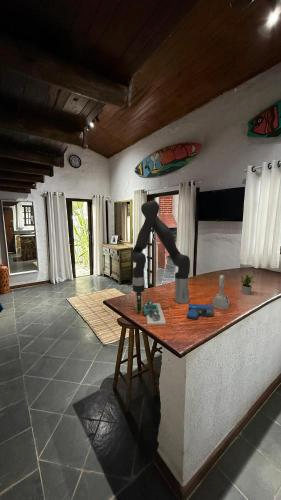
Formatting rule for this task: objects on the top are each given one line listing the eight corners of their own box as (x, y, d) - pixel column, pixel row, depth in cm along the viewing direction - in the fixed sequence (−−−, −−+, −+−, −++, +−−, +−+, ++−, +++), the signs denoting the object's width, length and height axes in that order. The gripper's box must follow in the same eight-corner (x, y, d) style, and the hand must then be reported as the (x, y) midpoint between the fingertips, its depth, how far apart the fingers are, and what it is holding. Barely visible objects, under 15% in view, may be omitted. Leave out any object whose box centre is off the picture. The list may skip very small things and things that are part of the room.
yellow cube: (143, 308, 136) (143, 301, 136) (143, 312, 131) (143, 304, 131) (135, 309, 136) (135, 301, 136) (135, 312, 131) (135, 304, 131)
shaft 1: (153, 309, 133) (153, 303, 133) (147, 309, 133) (147, 303, 133) (152, 304, 141) (152, 298, 141) (146, 304, 141) (146, 298, 141)
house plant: (262, 297, 152) (263, 275, 150) (243, 297, 152) (244, 275, 150) (252, 290, 166) (253, 270, 164) (234, 291, 166) (235, 271, 164)
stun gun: (215, 317, 116) (212, 304, 130) (186, 314, 120) (187, 302, 134) (215, 324, 117) (212, 310, 131) (186, 321, 121) (186, 308, 135)
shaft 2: (148, 315, 124) (148, 309, 123) (154, 314, 125) (154, 308, 125) (154, 321, 116) (154, 314, 116) (160, 320, 118) (160, 313, 117)
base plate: (159, 304, 143) (159, 303, 143) (165, 324, 115) (165, 322, 115) (144, 304, 143) (144, 303, 143) (147, 324, 115) (147, 323, 115)
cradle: (157, 309, 133) (157, 304, 133) (158, 314, 125) (158, 310, 124) (143, 309, 133) (143, 305, 133) (144, 315, 125) (144, 310, 124)
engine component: (211, 307, 136) (227, 310, 131) (211, 276, 134) (228, 278, 128) (215, 301, 146) (230, 304, 140) (215, 272, 143) (231, 274, 138)
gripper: (145, 286, 125) (145, 312, 127) (144, 280, 139) (144, 303, 141) (132, 287, 124) (133, 313, 126) (132, 280, 139) (133, 304, 141)
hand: (139, 308), depth 134 cm, fingers open, 8 cm apart
